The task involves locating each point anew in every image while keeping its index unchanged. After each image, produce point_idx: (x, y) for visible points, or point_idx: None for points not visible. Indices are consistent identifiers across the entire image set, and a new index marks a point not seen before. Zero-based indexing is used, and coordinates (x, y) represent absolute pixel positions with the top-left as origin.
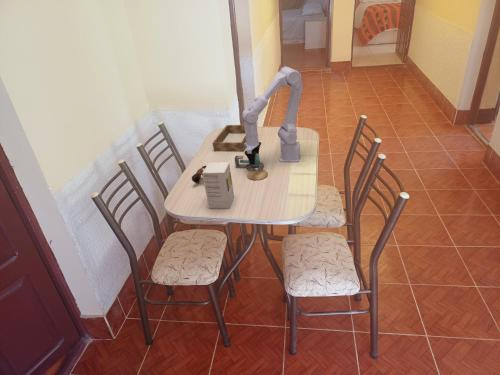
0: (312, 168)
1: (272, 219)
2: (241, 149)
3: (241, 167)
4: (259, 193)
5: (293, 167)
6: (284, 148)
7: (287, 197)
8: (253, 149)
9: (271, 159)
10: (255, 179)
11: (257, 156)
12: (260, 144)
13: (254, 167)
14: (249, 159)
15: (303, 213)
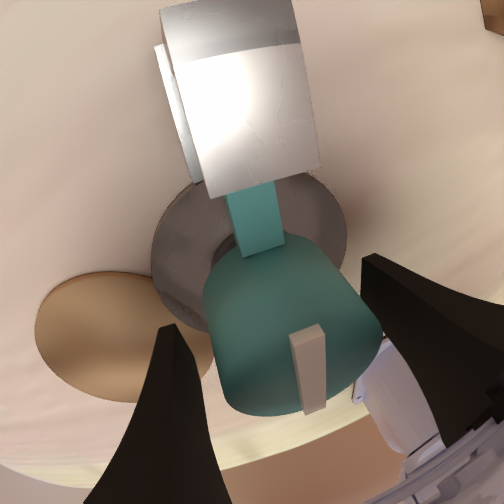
0: (300, 444)
1: None
2: (499, 16)
3: (176, 126)
4: (3, 412)
5: (299, 415)
6: (403, 433)
7: (71, 465)
8: (436, 336)
9: None
10: (56, 374)
11: (277, 414)
12: (447, 440)
13: None
14: (154, 398)
15: (53, 482)
